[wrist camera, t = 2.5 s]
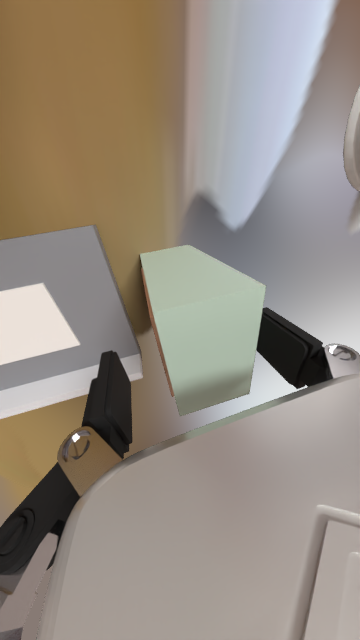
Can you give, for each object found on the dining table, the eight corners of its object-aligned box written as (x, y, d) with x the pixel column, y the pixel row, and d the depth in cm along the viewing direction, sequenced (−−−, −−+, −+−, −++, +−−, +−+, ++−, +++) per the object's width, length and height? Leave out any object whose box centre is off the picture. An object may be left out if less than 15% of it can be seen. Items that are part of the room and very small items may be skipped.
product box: (188, 244, 17) (266, 285, 7) (195, 311, 22) (249, 393, 12) (137, 254, 17) (147, 314, 7) (155, 321, 21) (176, 417, 11)
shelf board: (95, 224, 15) (83, 228, 11) (141, 352, 23) (143, 379, 19) (-161, 266, 12) (-289, 289, 9) (-6, 391, 21) (-36, 430, 17)
